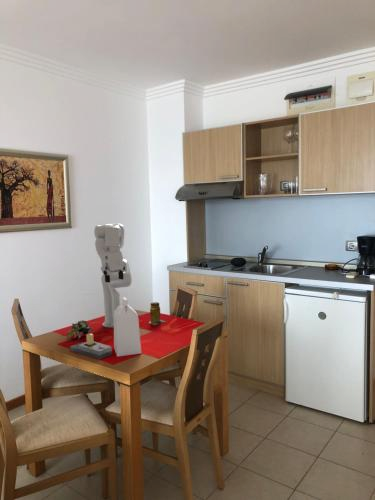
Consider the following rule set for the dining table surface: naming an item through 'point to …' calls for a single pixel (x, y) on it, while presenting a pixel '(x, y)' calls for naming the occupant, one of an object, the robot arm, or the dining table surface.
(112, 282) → the robot arm
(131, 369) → the dining table surface
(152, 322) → the condiment
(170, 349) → the dining table surface
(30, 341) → the dining table surface
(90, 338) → the brass pin
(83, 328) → the passion flower
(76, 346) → the grey long rectangular block
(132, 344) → the milk
